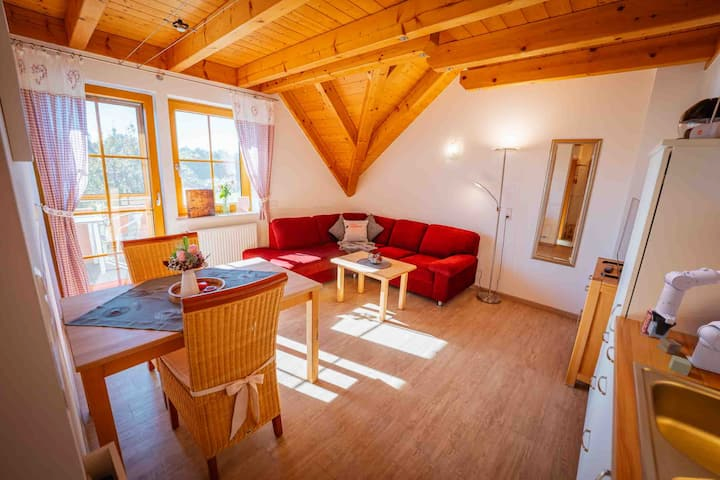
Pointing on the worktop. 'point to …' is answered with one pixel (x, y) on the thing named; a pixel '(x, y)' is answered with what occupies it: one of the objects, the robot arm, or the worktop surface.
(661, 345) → the walnut block
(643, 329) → the soda can
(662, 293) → the robot arm
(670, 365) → the olive block
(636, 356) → the worktop surface
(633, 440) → the worktop surface
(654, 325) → the slate blue block
